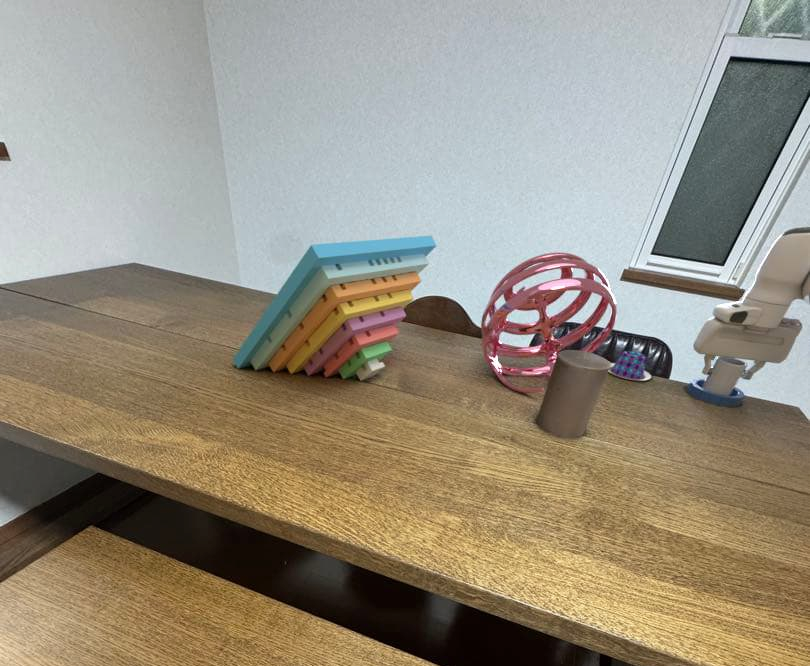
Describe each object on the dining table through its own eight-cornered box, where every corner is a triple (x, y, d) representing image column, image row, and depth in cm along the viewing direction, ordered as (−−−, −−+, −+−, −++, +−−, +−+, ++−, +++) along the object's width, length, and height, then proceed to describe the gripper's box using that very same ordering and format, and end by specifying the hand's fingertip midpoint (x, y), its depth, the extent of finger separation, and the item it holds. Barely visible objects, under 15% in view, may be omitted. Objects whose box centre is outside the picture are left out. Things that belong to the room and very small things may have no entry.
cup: (719, 394, 115) (739, 358, 109) (730, 404, 110) (752, 367, 104) (693, 390, 115) (712, 354, 109) (704, 400, 110) (724, 363, 104)
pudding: (653, 375, 121) (662, 355, 118) (645, 387, 113) (654, 366, 110) (609, 362, 126) (617, 343, 122) (598, 373, 118) (605, 353, 114)
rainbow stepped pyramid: (277, 431, 100) (368, 347, 74) (232, 359, 97) (311, 244, 71) (375, 389, 123) (471, 314, 97) (341, 330, 120) (431, 235, 94)
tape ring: (725, 391, 117) (730, 382, 115) (747, 411, 108) (753, 401, 106) (679, 385, 117) (683, 375, 116) (697, 404, 108) (702, 394, 106)
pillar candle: (529, 415, 93) (552, 340, 84) (574, 418, 95) (601, 344, 85) (544, 438, 86) (570, 358, 76) (592, 441, 87) (624, 363, 78)
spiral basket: (652, 326, 80) (621, 207, 87) (494, 350, 83) (475, 233, 89) (604, 409, 107) (583, 313, 114) (485, 424, 110) (472, 330, 116)
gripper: (798, 316, 102) (762, 377, 111) (708, 305, 103) (679, 366, 112) (815, 324, 97) (775, 386, 106) (720, 312, 98) (688, 375, 107)
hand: (725, 376), depth 109 cm, fingers open, 8 cm apart
